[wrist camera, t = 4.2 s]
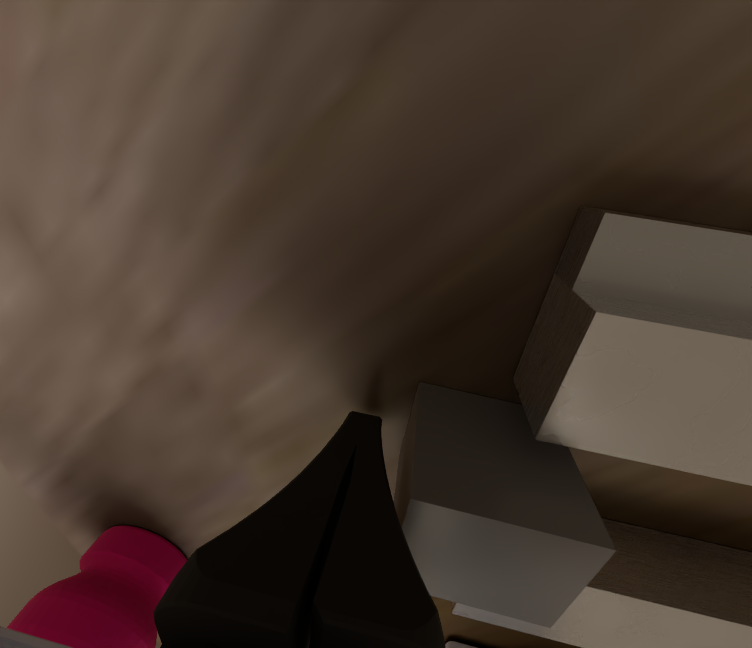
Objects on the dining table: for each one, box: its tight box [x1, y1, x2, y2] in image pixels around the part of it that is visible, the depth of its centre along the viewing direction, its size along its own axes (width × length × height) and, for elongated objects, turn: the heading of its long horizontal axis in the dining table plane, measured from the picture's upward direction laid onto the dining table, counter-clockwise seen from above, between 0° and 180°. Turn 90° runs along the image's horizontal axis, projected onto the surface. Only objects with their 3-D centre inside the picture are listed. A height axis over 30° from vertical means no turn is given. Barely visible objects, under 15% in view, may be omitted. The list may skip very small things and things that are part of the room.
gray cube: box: [394, 382, 616, 628], centre depth 11 cm, size 4×5×5 cm
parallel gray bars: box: [451, 206, 752, 648], centre depth 11 cm, size 18×14×3 cm
